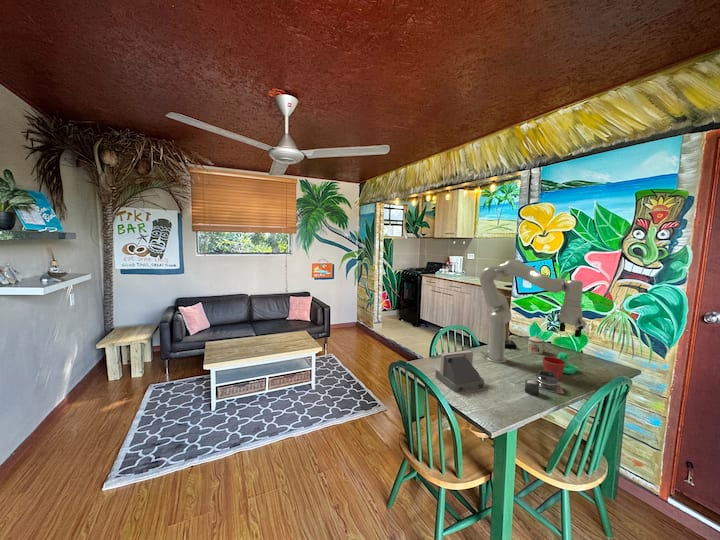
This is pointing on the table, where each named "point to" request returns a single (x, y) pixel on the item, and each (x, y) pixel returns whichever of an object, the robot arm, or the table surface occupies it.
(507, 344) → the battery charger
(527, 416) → the table surface
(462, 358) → the grey sloped stand
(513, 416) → the table surface
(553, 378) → the lens barrel
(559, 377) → the flower pot
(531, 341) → the teacup with lid
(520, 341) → the table surface
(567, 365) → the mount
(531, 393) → the dark grey cube
